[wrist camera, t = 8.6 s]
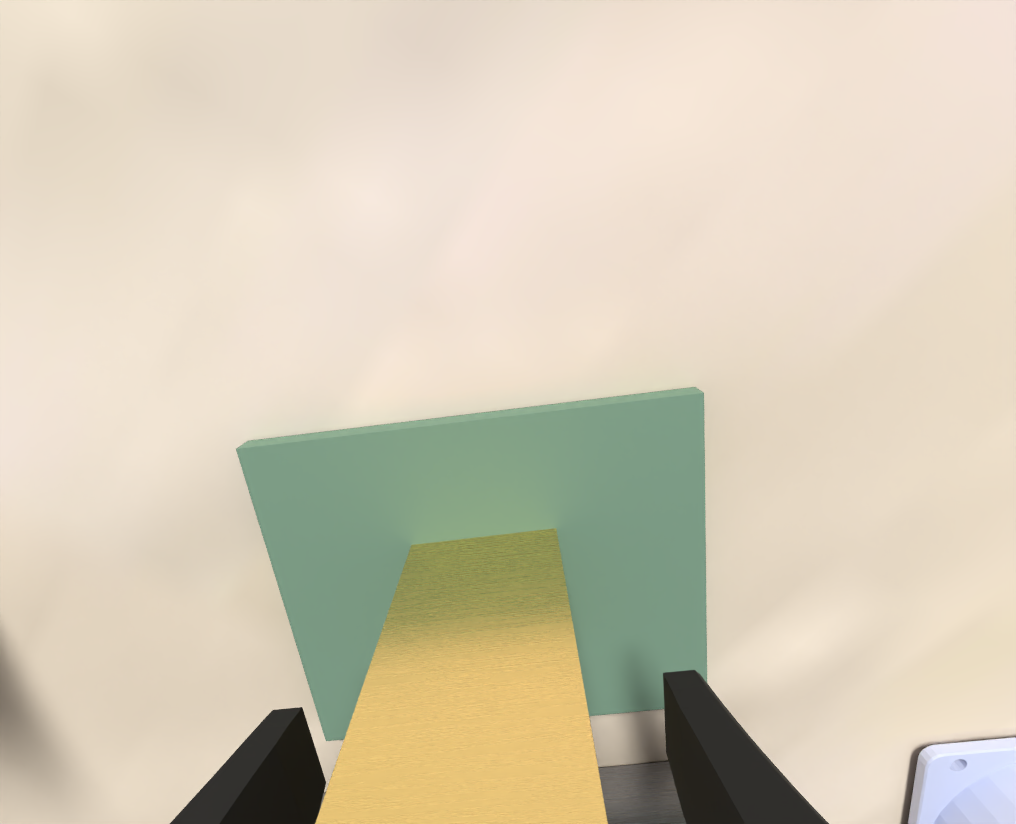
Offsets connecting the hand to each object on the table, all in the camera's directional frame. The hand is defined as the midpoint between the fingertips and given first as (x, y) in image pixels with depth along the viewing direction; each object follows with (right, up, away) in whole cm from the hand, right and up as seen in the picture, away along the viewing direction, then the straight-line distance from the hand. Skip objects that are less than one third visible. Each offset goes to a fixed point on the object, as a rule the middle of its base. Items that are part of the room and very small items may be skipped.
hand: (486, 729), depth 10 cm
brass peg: (0, +1, +4) cm, 4 cm away
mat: (0, +1, +5) cm, 5 cm away
